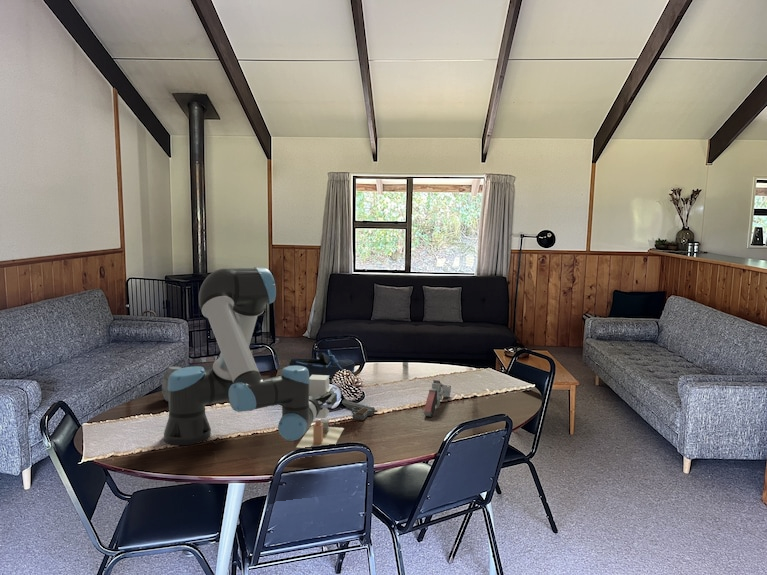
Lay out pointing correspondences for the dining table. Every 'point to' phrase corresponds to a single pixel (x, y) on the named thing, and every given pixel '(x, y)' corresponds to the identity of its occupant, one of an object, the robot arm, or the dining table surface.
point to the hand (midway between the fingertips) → (322, 389)
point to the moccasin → (323, 364)
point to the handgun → (359, 410)
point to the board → (328, 436)
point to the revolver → (436, 396)
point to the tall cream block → (319, 390)
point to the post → (318, 432)
